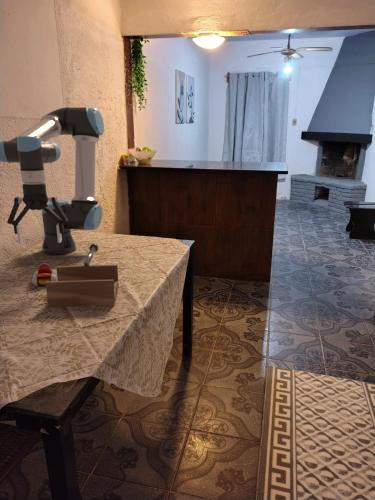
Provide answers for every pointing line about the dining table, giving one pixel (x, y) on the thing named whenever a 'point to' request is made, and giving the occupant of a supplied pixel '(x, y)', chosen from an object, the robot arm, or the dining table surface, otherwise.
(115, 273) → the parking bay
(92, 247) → the rod
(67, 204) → the robot arm
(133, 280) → the dining table surface
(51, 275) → the rainbow disc toy
